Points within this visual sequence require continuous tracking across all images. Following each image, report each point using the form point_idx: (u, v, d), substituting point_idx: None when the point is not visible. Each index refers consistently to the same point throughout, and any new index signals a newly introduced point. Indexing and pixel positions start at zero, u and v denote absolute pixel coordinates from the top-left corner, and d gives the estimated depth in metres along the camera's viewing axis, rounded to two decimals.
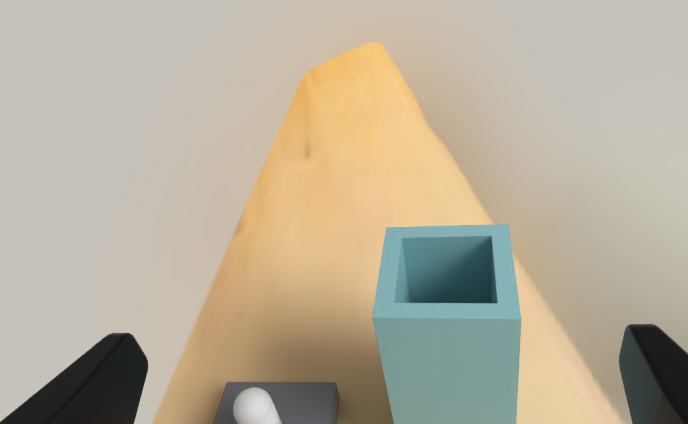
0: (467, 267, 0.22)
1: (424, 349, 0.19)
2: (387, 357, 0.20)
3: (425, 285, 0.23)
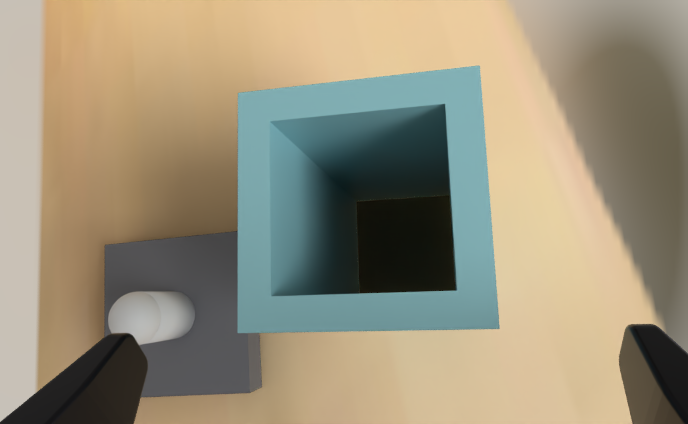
0: (402, 133, 0.12)
1: None
2: None
3: (335, 153, 0.13)
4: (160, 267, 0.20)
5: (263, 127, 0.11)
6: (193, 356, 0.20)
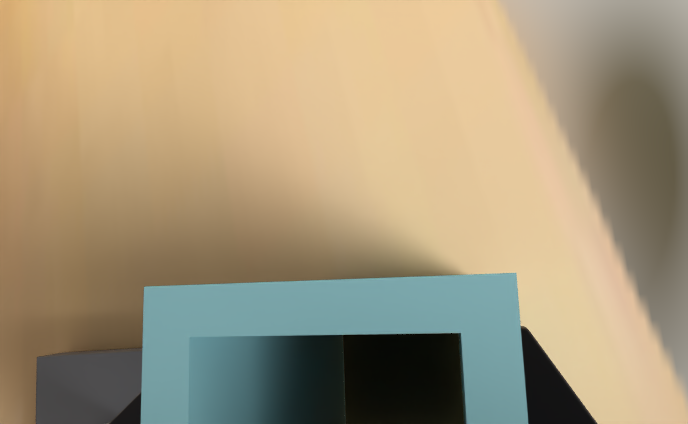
0: None
1: None
2: None
3: None
4: (102, 388, 0.17)
5: (180, 345, 0.07)
6: None
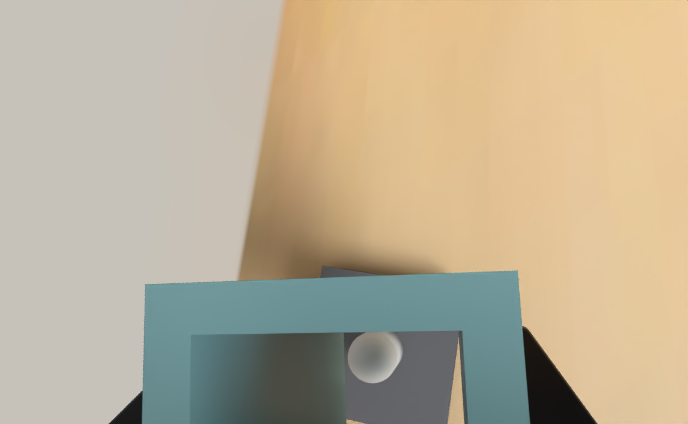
0: None
1: None
2: None
3: None
4: None
5: (181, 343, 0.07)
6: (394, 392, 0.21)
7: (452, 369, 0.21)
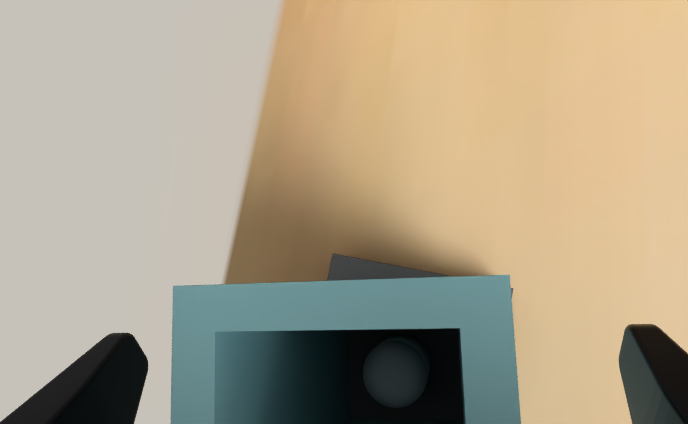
0: None
1: None
2: None
3: None
4: None
5: (206, 339, 0.08)
6: (417, 417, 0.17)
7: None
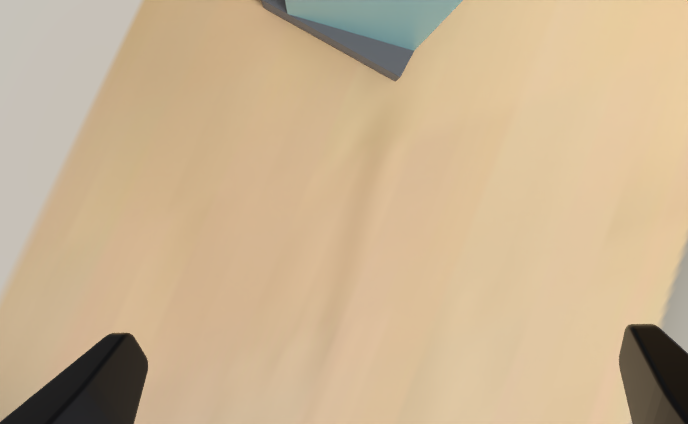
0: None
1: None
2: None
3: None
4: None
5: None
6: None
7: None
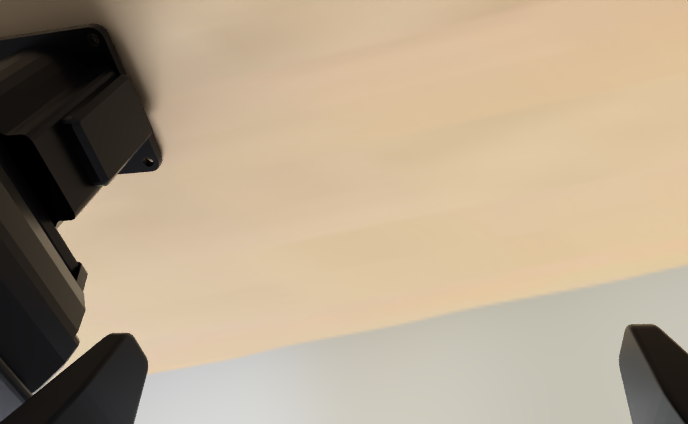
0: None
1: None
2: None
3: None
4: None
5: None
6: None
7: None
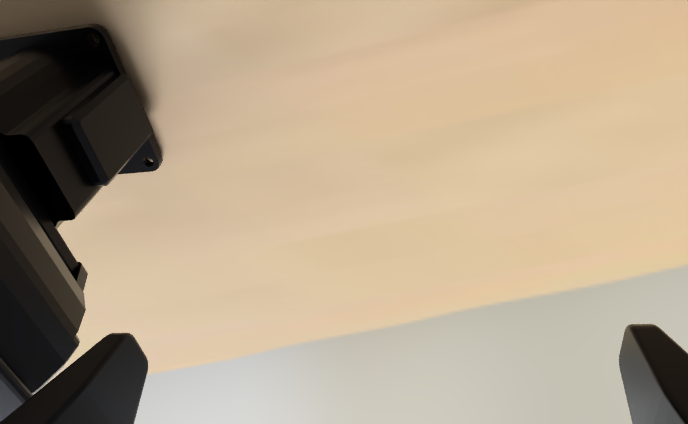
0: None
1: None
2: None
3: None
4: None
5: None
6: None
7: None
